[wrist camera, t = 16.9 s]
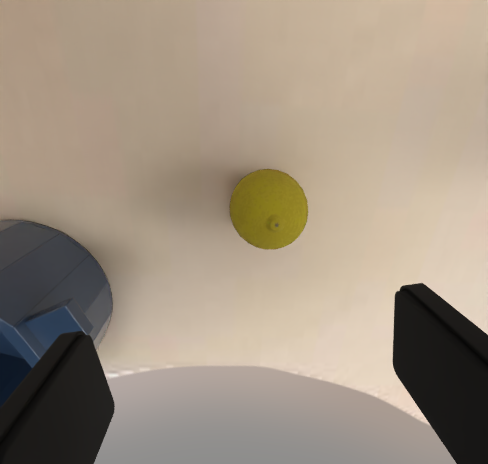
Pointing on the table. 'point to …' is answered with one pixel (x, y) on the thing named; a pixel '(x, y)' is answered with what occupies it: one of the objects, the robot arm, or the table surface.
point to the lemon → (268, 209)
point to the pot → (45, 296)
